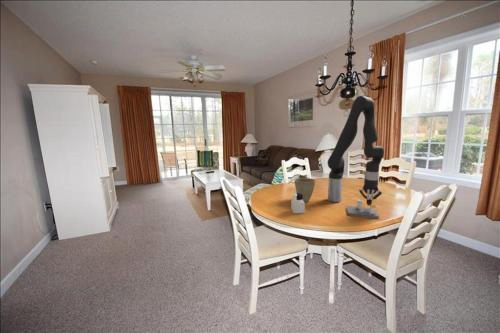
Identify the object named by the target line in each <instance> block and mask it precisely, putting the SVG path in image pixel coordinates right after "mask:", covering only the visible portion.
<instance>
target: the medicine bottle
mask: <svg viewBox="0 0 500 333" xmlns="http://www.w3.org/2000/svg"><path fill="white" fill-rule="evenodd" d="M292 195H293V196H292V198H293V199H291V203H290V204H291V207H290V208H291V211H292V212H293V214H306V212H305V210H306V208H305V206H306V202H304V201H303V195H302V194H301V193H297V192H296V193H293V194H292Z"/></svg>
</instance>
